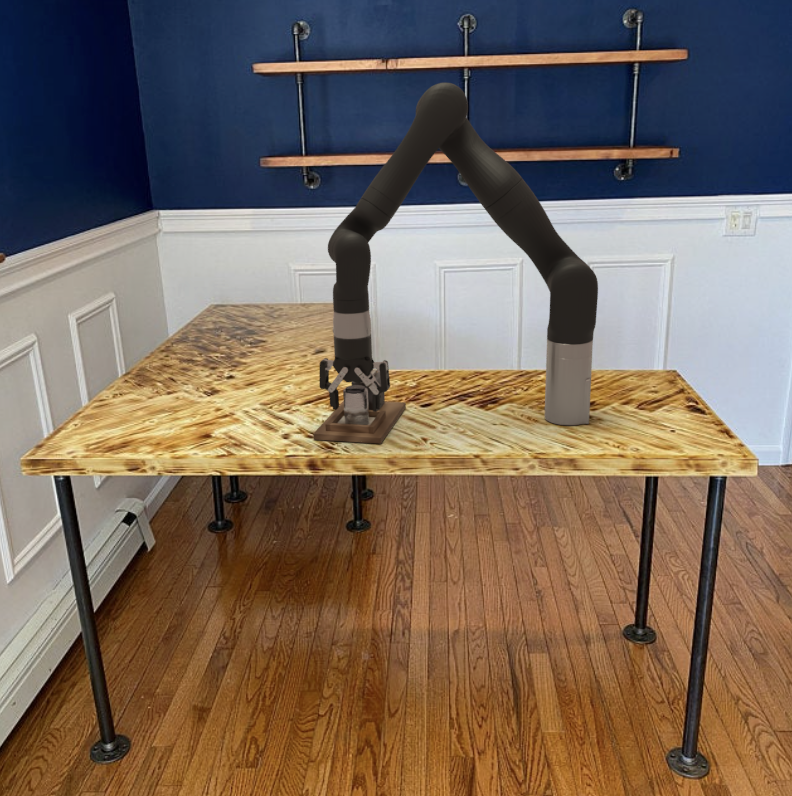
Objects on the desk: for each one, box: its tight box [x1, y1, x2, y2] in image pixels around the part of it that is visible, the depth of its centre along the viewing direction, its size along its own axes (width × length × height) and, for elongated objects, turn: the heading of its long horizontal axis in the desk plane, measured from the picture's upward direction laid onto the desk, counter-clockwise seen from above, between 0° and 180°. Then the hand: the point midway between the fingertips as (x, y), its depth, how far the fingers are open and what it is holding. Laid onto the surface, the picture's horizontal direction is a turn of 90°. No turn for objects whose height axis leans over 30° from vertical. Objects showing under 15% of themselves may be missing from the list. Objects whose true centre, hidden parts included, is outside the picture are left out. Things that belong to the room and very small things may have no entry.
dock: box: [312, 369, 407, 444], centre depth 173 cm, size 14×22×9 cm, turn 167°
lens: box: [342, 384, 369, 425], centre depth 169 cm, size 5×5×8 cm
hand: (355, 409), depth 170 cm, fingers open, 8 cm apart
